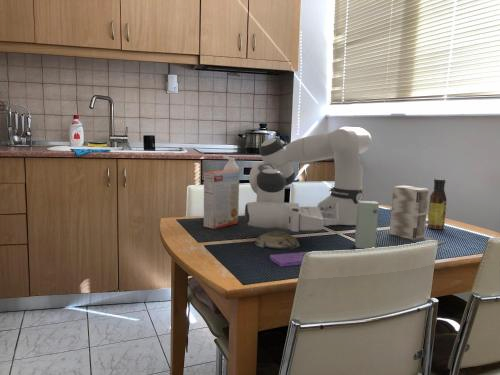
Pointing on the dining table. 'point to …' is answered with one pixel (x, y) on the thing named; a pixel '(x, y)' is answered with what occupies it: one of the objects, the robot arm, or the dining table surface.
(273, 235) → the grey lumpy flat piece
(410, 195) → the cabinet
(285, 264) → the sponges
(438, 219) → the sauce bottle
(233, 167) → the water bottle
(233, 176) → the cracker box
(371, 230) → the pale green block
